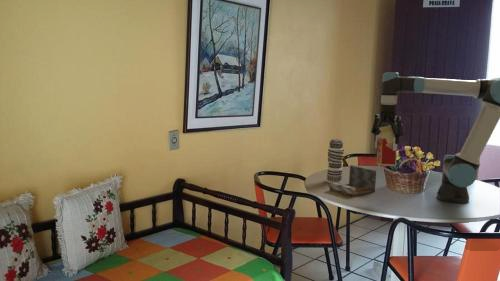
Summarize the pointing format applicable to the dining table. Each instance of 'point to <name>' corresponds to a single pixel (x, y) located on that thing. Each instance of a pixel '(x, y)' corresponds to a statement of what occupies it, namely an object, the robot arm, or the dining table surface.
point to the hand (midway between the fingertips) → (385, 149)
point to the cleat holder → (356, 182)
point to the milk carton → (386, 147)
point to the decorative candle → (335, 161)
